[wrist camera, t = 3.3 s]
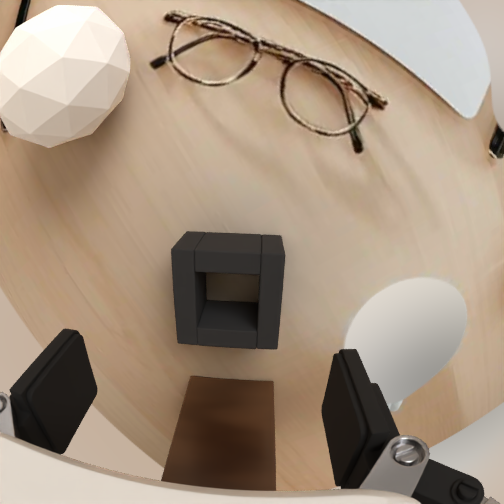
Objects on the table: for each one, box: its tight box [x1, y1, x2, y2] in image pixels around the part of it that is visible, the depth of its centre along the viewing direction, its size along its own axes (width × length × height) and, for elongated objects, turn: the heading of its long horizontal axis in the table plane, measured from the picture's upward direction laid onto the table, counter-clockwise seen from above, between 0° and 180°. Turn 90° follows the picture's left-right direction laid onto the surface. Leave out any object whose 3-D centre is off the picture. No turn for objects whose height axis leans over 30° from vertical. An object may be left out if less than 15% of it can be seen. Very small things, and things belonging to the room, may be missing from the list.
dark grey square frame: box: [171, 231, 285, 349], centre depth 18 cm, size 6×6×3 cm
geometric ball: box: [0, 5, 130, 148], centre depth 12 cm, size 8×8×8 cm
